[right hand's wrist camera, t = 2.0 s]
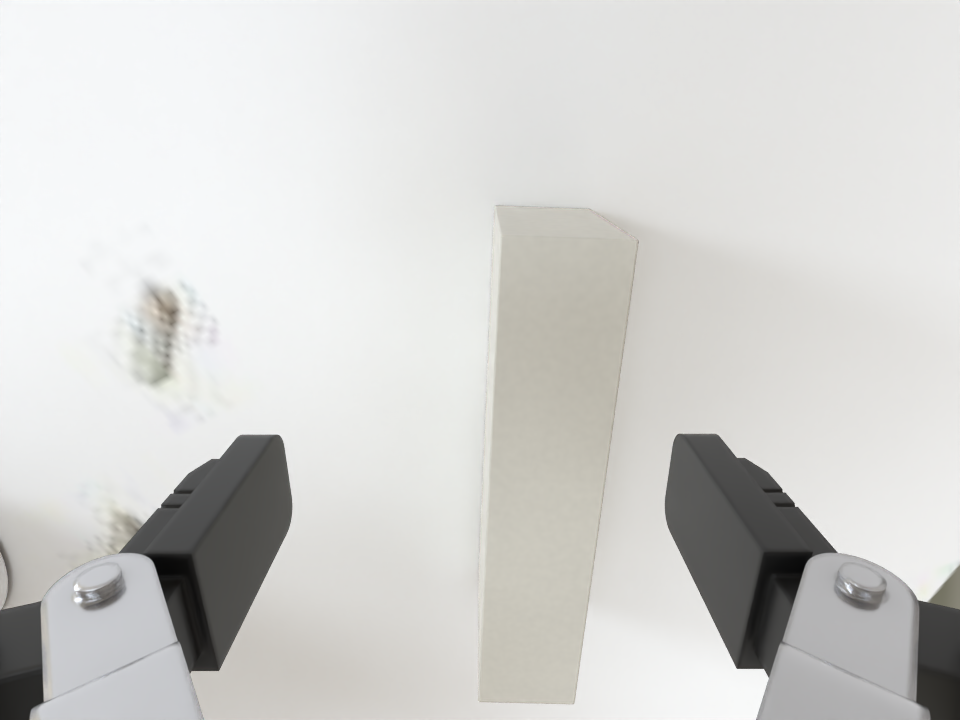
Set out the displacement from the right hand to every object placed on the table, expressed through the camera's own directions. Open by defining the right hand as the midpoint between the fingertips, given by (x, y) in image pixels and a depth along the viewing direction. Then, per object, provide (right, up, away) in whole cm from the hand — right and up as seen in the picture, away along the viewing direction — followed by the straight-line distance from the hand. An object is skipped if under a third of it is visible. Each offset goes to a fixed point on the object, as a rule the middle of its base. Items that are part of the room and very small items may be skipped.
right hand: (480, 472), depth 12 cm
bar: (+3, -1, +21) cm, 21 cm away
